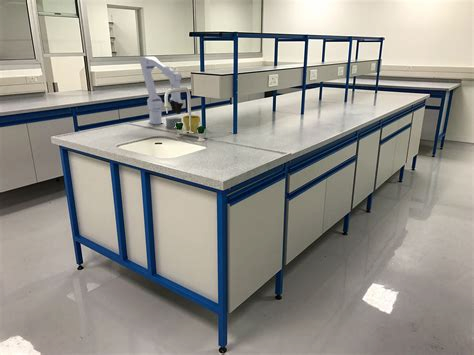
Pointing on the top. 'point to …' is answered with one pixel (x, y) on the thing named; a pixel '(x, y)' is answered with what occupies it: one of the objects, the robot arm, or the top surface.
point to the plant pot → (194, 122)
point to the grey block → (172, 121)
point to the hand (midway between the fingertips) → (176, 112)
